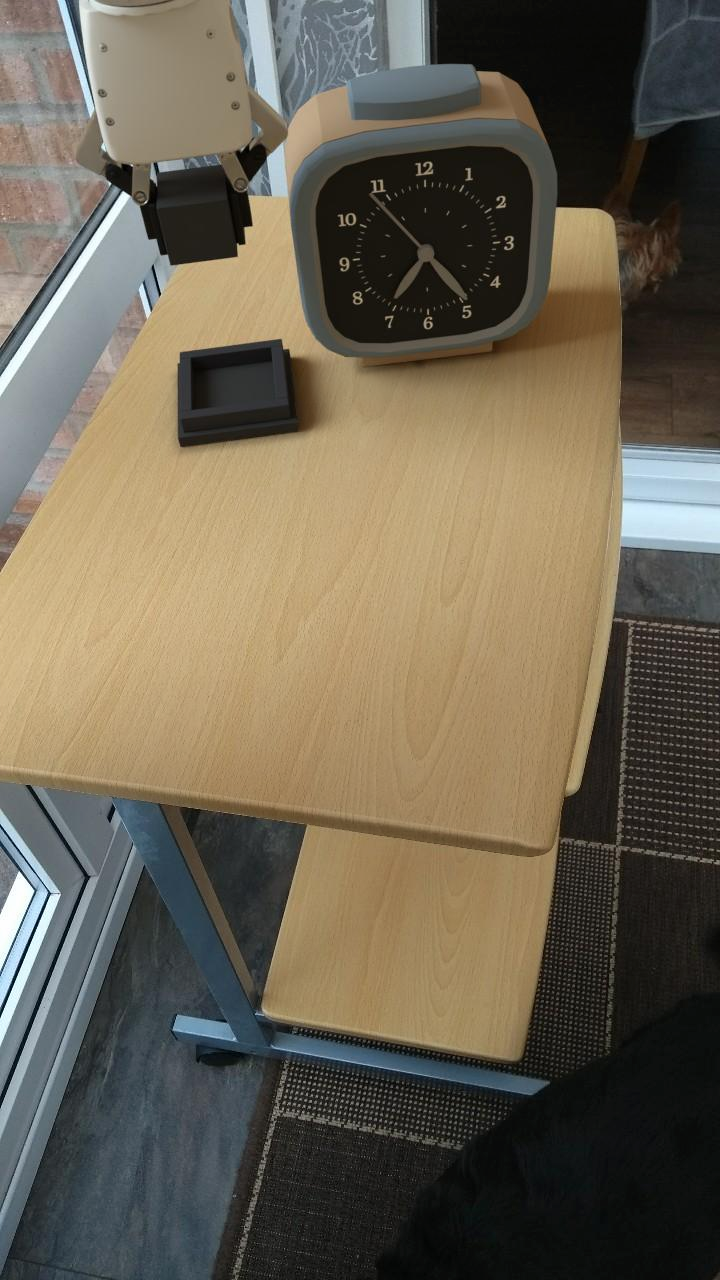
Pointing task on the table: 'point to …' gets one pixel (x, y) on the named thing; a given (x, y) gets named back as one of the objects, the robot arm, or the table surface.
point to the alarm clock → (420, 212)
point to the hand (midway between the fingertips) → (202, 237)
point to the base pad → (235, 393)
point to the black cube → (195, 215)
